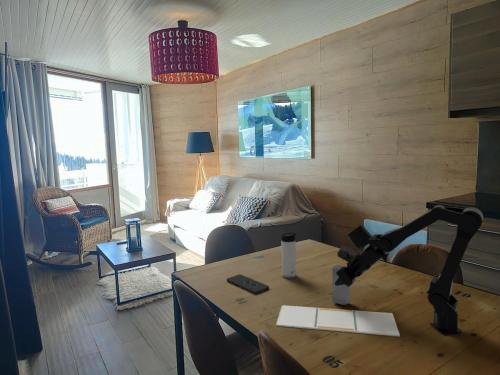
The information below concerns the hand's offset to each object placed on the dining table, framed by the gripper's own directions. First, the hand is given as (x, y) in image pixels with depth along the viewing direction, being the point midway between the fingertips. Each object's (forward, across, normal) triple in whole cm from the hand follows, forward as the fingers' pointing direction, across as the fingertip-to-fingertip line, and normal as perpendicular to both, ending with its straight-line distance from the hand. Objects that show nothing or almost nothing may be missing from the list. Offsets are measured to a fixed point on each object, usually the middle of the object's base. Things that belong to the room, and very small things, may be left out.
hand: (337, 282), depth 129 cm
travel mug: (+26, -14, -14) cm, 33 cm away
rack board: (+3, +13, +8) cm, 16 cm away
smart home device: (+34, +4, -22) cm, 40 cm away
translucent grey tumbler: (+4, 0, +6) cm, 7 cm away
